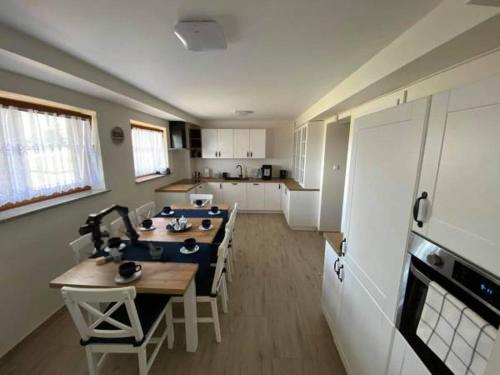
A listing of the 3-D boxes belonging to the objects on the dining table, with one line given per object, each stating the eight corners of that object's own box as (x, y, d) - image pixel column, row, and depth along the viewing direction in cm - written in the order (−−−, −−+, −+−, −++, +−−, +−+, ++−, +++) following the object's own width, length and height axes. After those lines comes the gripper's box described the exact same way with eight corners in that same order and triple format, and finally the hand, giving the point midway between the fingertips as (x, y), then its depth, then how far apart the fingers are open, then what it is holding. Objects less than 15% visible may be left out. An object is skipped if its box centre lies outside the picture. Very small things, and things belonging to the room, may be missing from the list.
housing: (116, 253, 177) (116, 247, 176) (121, 261, 166) (120, 254, 165) (109, 255, 174) (108, 249, 173) (113, 263, 162) (113, 256, 161)
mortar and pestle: (165, 254, 177) (164, 241, 174) (159, 260, 167) (158, 246, 165) (152, 254, 178) (151, 240, 175) (146, 259, 168) (145, 245, 166)
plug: (122, 255, 175) (121, 251, 174) (123, 257, 172) (123, 253, 171) (94, 263, 162) (94, 258, 161) (95, 265, 159) (95, 261, 158)
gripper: (111, 231, 157) (113, 250, 159) (106, 224, 170) (108, 242, 173) (92, 235, 149) (95, 255, 152) (89, 228, 162) (91, 246, 165)
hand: (98, 249), depth 161 cm, fingers open, 9 cm apart
